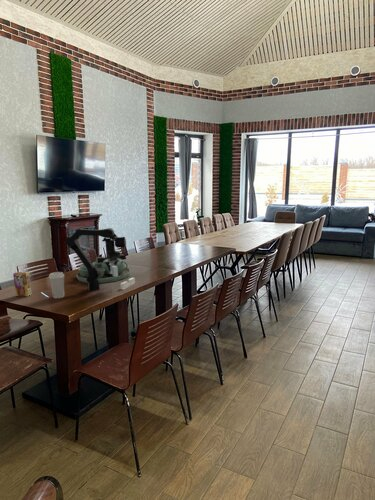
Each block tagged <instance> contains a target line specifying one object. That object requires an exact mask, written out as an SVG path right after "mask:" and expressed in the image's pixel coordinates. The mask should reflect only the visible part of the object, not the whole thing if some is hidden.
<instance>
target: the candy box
mask: <svg viewBox="0 0 375 500" xmlns="http://www.w3.org/2000/svg"><path fill="white" fill-rule="evenodd" d="M12 275H13V283H14V292H15V297H16V296H26V297H30V296H32V295H31V294H33V293H32V285H31V277H30V271H16V272H13V274H12ZM29 295H30V296H29Z"/></svg>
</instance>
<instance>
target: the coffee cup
mask: <svg viewBox="0 0 375 500" xmlns="http://www.w3.org/2000/svg"><path fill="white" fill-rule="evenodd" d="M65 276H66V275H65V274H64V272H63V271H55V272H51V273H49V275H48V279H49V283H50V287H51V292H52V297H53V299H61V298H64V297H65Z"/></svg>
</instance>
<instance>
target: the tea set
mask: <svg viewBox="0 0 375 500" xmlns="http://www.w3.org/2000/svg"><path fill="white" fill-rule="evenodd" d="M115 252H116V253H117V252H120V253H121V251H120V250H115ZM108 261H109V264H113V261H110V260H108ZM91 263H92V264H93V265H94V266H96V265H97V266H98V268H99V269H100V272H101V273H100V276H99V277H98V279H97V280H98V282H99V284H103V283H111V282H112V283H114V282H117V281H121V280H124V279H126V278H128V277H130V276H131V269H130V268H129V266H128V263H127V261H124V260H121V259H119V261H118V262H117V265H116V266H117V267H118V276H115V277H114V276H113V274H110V271H109V269H108V267H107V265H106V263H104V262H101V263H98V262H96V261H93V262H91ZM79 267H80V268H78V273H77V274H76V276H75V277H76V278H77V280H78V281H79V282H82V283H85V284H86V283H87V284H88V282H87V280H86V279H87V278H88V277H89V274H88V271H87V268H86V266H85V265H84V264H83V263H82V264H80V265H79Z"/></svg>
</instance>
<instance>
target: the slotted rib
mask: <svg viewBox="0 0 375 500" xmlns="http://www.w3.org/2000/svg"><path fill="white" fill-rule="evenodd" d="M134 284H136V278H135V277H131V278H128V279H127V280H124V281H123V282H121V283H120V290H122V291H123V290H126V289H127V288H129V287H131V286H133V285H134Z"/></svg>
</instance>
